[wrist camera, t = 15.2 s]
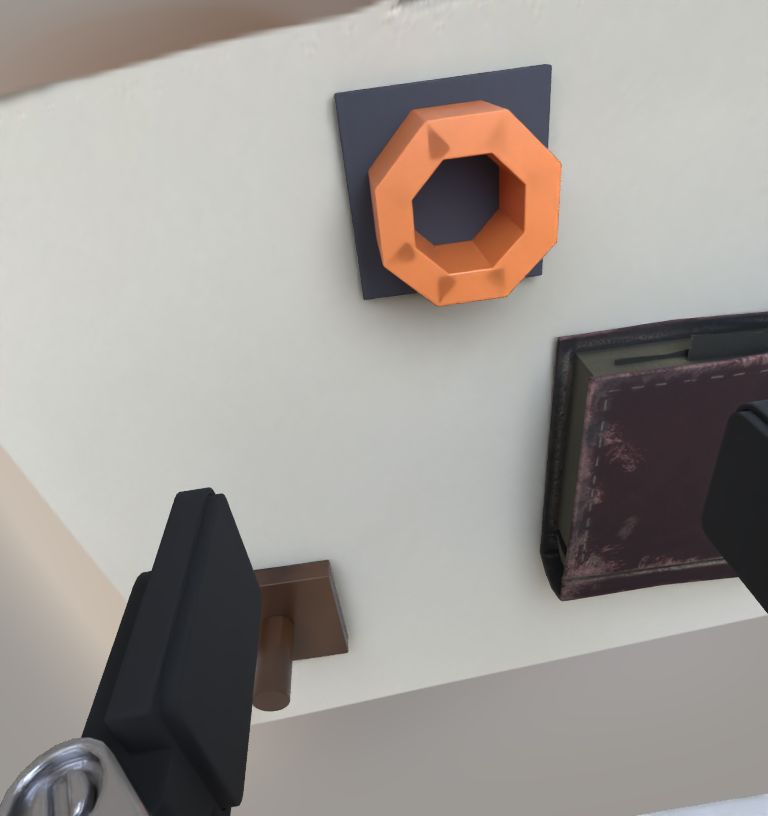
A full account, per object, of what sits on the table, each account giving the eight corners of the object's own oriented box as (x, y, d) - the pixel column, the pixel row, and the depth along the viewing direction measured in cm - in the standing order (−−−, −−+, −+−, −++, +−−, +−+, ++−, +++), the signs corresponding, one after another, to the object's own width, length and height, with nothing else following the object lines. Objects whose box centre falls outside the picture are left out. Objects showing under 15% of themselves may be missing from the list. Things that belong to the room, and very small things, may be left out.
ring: (381, 281, 27) (388, 314, 24) (361, 116, 23) (366, 128, 20) (526, 260, 27) (554, 290, 24) (531, 92, 23) (566, 100, 20)
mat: (363, 294, 28) (363, 300, 27) (334, 93, 23) (334, 94, 22) (537, 270, 28) (542, 275, 27) (546, 64, 23) (552, 64, 22)
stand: (235, 652, 44) (220, 745, 38) (201, 577, 39) (178, 672, 33) (348, 635, 44) (351, 727, 38) (328, 559, 39) (328, 650, 33)
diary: (872, 509, 40) (935, 562, 36) (537, 554, 40) (561, 614, 36) (1006, 262, 30) (1115, 297, 26) (555, 320, 30) (593, 365, 26)
